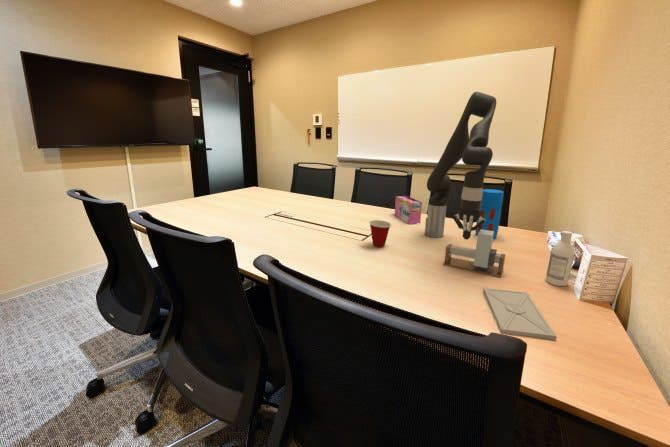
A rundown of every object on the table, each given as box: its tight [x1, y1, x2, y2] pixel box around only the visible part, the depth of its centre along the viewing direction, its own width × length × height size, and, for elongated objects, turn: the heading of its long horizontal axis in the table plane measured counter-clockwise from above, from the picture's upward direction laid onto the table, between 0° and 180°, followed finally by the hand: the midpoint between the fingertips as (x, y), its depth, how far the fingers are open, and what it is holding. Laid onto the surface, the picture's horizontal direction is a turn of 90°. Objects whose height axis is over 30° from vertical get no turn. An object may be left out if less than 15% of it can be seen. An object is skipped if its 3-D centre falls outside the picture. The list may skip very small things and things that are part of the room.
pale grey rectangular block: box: [473, 229, 494, 268], centre depth 126 cm, size 5×6×14 cm
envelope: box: [482, 287, 558, 341], centre depth 97 cm, size 24×2×14 cm
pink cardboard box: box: [394, 194, 423, 225], centre depth 201 cm, size 24×8×14 cm, turn 13°
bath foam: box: [545, 230, 575, 287], centre depth 115 cm, size 7×7×20 cm
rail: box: [442, 243, 506, 279], centre depth 129 cm, size 22×9×8 cm, turn 57°
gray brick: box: [488, 248, 498, 266], centre depth 125 cm, size 2×5×5 cm, turn 147°
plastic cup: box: [368, 219, 392, 248], centre depth 154 cm, size 11×11×12 cm
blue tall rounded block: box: [474, 188, 505, 240], centre depth 165 cm, size 11×11×25 cm
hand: (466, 238), depth 129 cm, fingers closed
